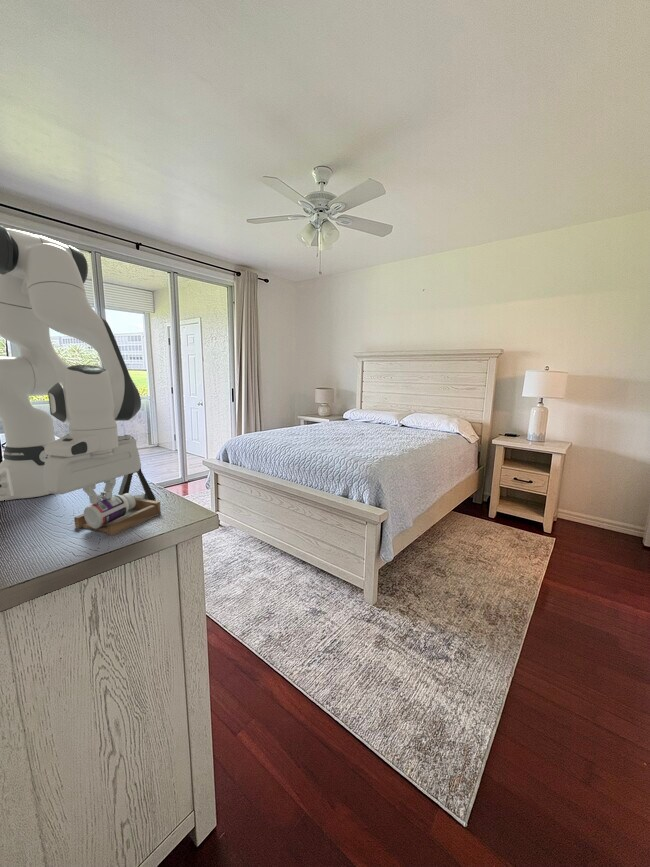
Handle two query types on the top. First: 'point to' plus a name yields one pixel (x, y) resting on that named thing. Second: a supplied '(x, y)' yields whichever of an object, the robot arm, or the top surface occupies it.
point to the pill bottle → (108, 510)
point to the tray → (144, 512)
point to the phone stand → (148, 492)
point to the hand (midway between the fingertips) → (101, 501)
